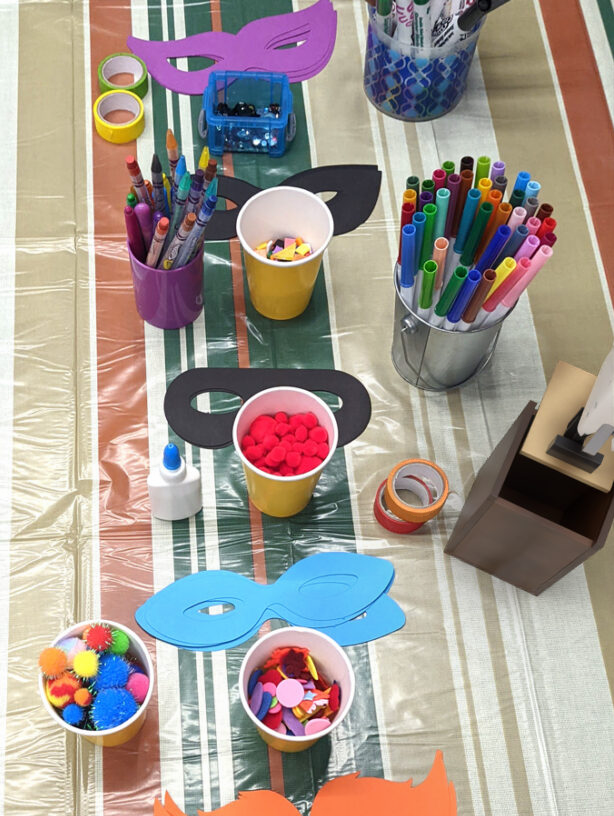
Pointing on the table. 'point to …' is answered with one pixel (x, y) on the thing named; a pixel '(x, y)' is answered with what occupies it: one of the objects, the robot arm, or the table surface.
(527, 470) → the craft box
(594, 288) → the table surface
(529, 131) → the table surface
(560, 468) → the box lid
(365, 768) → the table surface
